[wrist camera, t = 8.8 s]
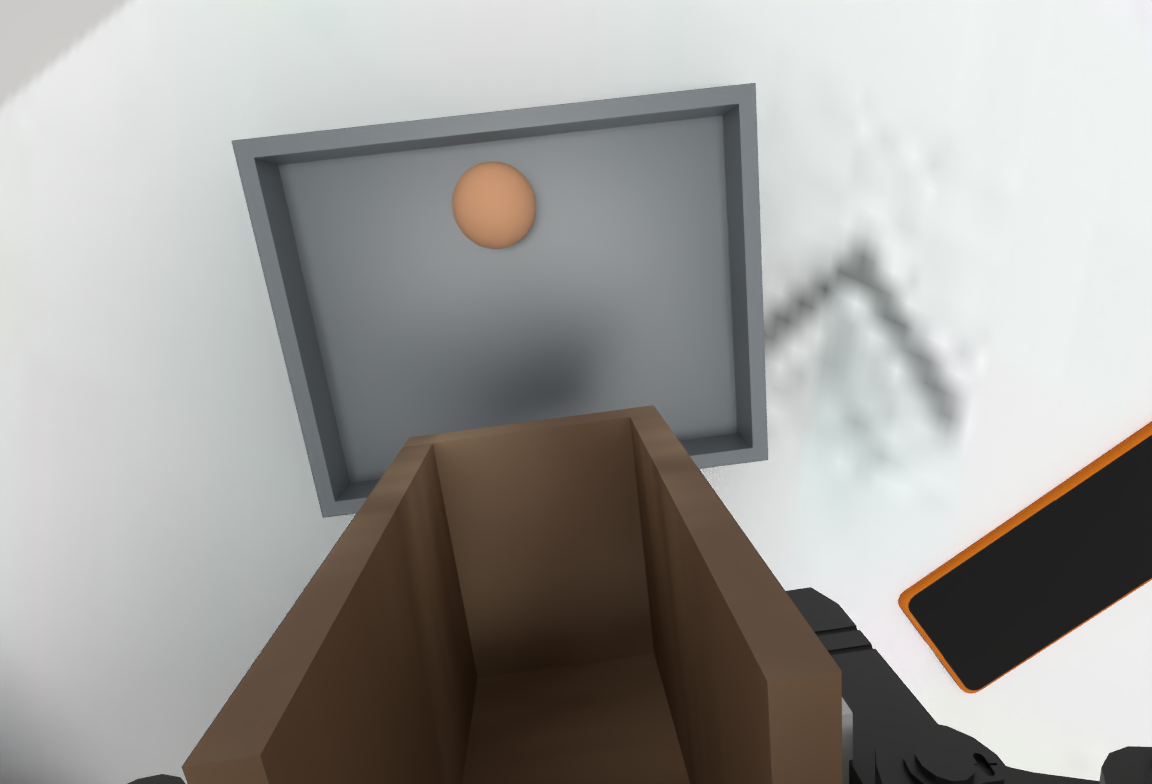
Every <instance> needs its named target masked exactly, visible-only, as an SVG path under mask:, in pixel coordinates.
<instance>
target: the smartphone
mask: <svg viewBox="0 0 1152 784" xmlns="http://www.w3.org/2000/svg"><path fill="white" fill-rule="evenodd" d="M1150 580H1152V422H1151V423H1149V424H1148V425H1146V426H1145V427H1143V428H1142V429H1140V430H1139V431H1137V432H1136V433H1135V434H1133V435H1132V436H1130V437H1129V438H1127V439H1126V440H1124V441H1123V442H1121V443H1120V444H1119V445H1117V446H1116V447H1114V448H1113V449H1111V450H1110V451H1108V452H1107V453H1105V454H1104V455H1102V456H1101V457H1100V458H1098V459H1097V460H1095V461H1094V462H1092V463H1091V464H1089V465H1088V466H1086V467H1085V468H1083V469H1082V470H1081V471H1079V472H1078V473H1076V474H1075V475H1073V476H1072V477H1070V478H1069V479H1067V480H1066V481H1065V482H1063V483H1062V484H1060V485H1059V486H1057V487H1056V488H1054V489H1053V490H1051V491H1050V492H1048V493H1047V494H1046V495H1044V496H1043V497H1041V498H1040V499H1038V500H1037V501H1035V502H1034V503H1032V504H1031V505H1029V506H1028V507H1027V508H1025V509H1024V510H1022V511H1021V512H1019V513H1018V514H1016V515H1015V516H1013V517H1012V518H1011V519H1009V520H1008V521H1006V522H1005V523H1003V524H1002V525H1000V526H999V527H997V528H996V529H994V530H993V531H992V532H990V533H989V534H987V535H986V536H984V537H983V538H981V539H980V540H978V541H977V542H976V543H974V544H973V545H971V546H970V547H968V548H967V549H965V550H964V551H962V552H961V553H959V554H958V555H957V556H955V557H954V558H952V559H951V560H949V561H948V562H946V563H945V564H943V565H942V566H940V567H939V568H938V569H936V570H935V571H933V572H932V573H930V574H929V575H927V576H926V577H924V578H923V579H922V580H920V581H919V582H917V583H916V584H914V585H913V586H911V587H910V588H908V589H907V590H905V591H904V592H903V593H902V594H901V595H900V597H899V602H898V603H899V606H900V608H901V609H902V610H903V612H904V613H905V615H906V616H907V617H908V619H909V620H910V621H911V623H912V624H913V625H914V627H915V628H916V629H917V631H918V632H919V633H920V635H921V636H922V637H923V639H924V640H925V641H926V642H927V643H928V645H929V646H930V647H931V649H932V650H933V651H934V653H935V654H936V656H937V658H938V659H939V660H940V662H941V663H942V664H943V666H944V667H945V668H946V670H947V671H948V672H949V674H950V675H951V676H952V678H953V679H954V681H955V682H956V683H957V685H958V686H959V687H960V688H961V689H962V690H963V691H964V692H966V693H976V692H978V691H980V690H982V689H983V688H985V687H987V686H988V685H990V684H991V683H993V682H994V681H996V680H997V679H999V678H1000V677H1002V676H1004V675H1005V674H1007V673H1008V672H1010V671H1011V670H1013V669H1014V668H1016V667H1017V666H1019V665H1021V664H1022V663H1024V662H1025V661H1027V660H1028V659H1030V658H1031V657H1033V656H1034V655H1036V654H1038V653H1039V652H1041V651H1042V650H1044V649H1045V648H1047V647H1048V646H1050V645H1051V644H1053V643H1055V642H1056V641H1058V640H1059V639H1061V638H1062V637H1064V636H1065V635H1067V634H1068V633H1070V632H1072V631H1073V630H1075V629H1076V628H1078V627H1079V626H1081V625H1082V624H1084V623H1085V622H1087V621H1089V620H1090V619H1092V618H1093V617H1095V616H1096V615H1098V614H1099V613H1101V612H1102V611H1104V610H1106V609H1107V608H1109V607H1110V606H1112V605H1113V604H1115V603H1116V602H1118V601H1119V600H1121V599H1123V598H1124V597H1126V596H1127V595H1129V594H1130V593H1132V592H1133V591H1135V590H1136V589H1138V588H1140V587H1141V586H1143V585H1144V584H1146V583H1147V582H1149V581H1150Z"/></svg>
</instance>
